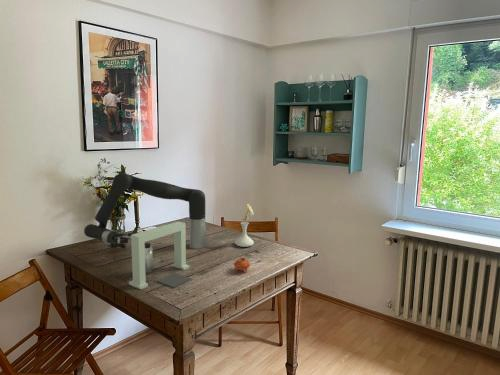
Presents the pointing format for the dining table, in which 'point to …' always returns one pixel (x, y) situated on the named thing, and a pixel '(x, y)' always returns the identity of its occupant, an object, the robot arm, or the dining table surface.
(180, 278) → the rubber mat
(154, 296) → the dining table surface
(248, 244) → the flower in vase
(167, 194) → the robot arm
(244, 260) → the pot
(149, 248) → the plug peg
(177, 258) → the frame
